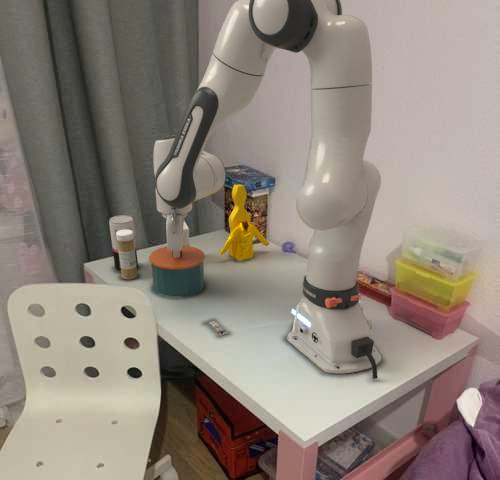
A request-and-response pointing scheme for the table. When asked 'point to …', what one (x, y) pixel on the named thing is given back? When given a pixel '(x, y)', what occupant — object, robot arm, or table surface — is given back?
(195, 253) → the lid
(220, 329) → the granola bar
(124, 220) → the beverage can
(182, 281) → the tin
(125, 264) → the sprinkles bottle
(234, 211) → the figure statuette
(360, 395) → the table surface
